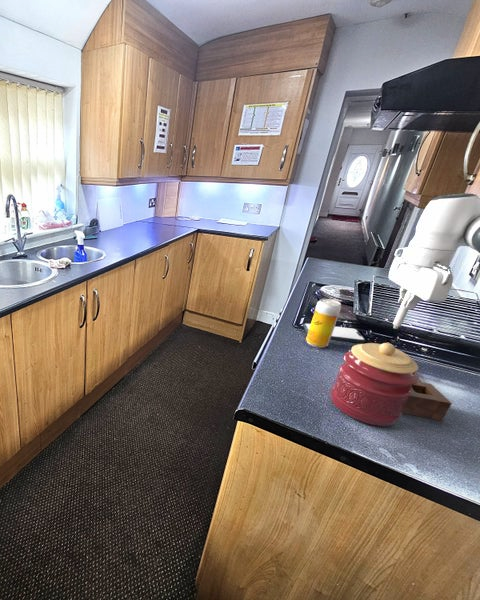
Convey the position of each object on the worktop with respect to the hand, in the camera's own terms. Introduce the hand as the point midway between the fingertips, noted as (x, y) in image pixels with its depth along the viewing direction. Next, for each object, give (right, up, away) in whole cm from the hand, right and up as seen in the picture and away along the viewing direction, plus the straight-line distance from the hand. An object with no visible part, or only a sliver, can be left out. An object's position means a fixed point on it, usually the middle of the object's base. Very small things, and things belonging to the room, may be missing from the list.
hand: (405, 305), depth 91 cm
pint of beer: (-14, -13, +15) cm, 24 cm away
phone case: (-4, -11, +21) cm, 24 cm away
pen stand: (-11, -24, -12) cm, 29 cm away
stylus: (0, -7, +3) cm, 7 cm away
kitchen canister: (-24, -24, -13) cm, 36 cm away
